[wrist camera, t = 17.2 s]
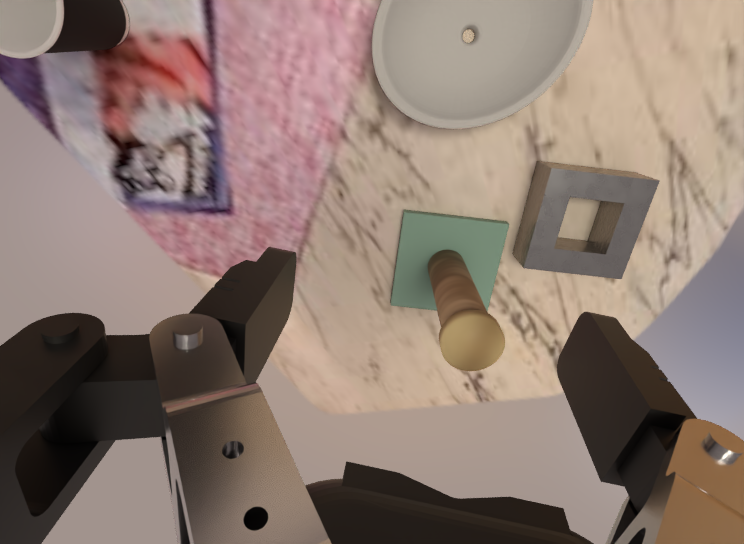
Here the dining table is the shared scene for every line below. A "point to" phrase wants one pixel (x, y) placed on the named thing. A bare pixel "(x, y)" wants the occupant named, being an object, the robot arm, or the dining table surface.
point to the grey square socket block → (611, 227)
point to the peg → (463, 315)
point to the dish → (473, 55)
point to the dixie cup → (60, 26)
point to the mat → (445, 232)
